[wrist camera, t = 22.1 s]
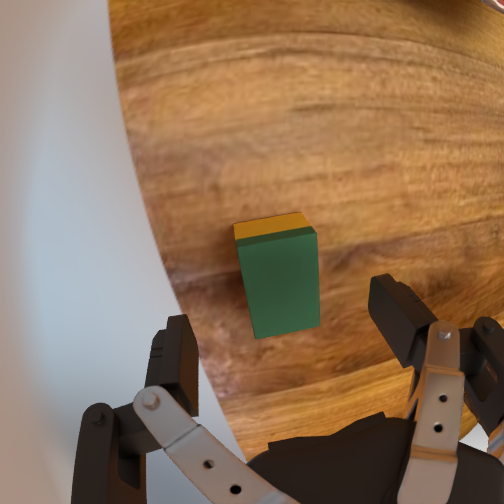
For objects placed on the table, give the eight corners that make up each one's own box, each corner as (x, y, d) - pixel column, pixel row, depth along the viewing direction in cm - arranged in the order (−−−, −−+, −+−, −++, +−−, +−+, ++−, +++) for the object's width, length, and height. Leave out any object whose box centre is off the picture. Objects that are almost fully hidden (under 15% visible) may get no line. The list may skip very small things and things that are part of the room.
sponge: (233, 223, 19) (236, 247, 16) (301, 211, 19) (317, 232, 16) (249, 308, 22) (255, 339, 19) (307, 296, 22) (320, 326, 19)
